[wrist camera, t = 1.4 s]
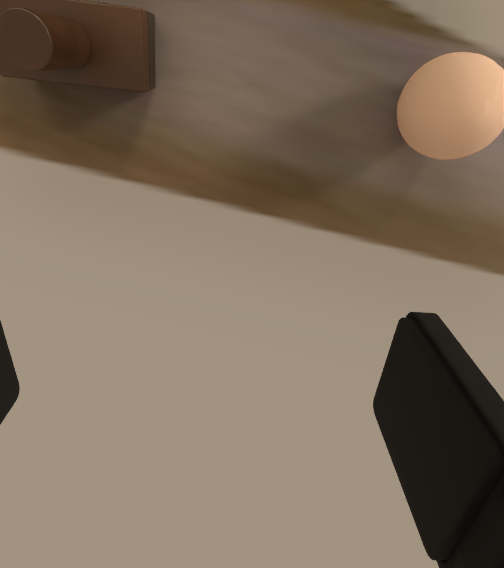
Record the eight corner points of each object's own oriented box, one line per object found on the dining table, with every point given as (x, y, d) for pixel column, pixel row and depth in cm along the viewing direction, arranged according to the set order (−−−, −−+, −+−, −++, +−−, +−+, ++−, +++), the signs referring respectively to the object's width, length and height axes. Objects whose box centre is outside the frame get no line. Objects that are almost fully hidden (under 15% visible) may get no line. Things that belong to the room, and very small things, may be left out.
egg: (365, 112, 27) (404, 131, 20) (430, 30, 24) (498, 21, 18) (422, 162, 28) (475, 195, 22) (488, 91, 26) (570, 103, 19)
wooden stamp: (17, -3, 23) (-89, -30, 16) (154, 14, 24) (113, -5, 16) (29, 73, 25) (-60, 81, 18) (155, 87, 26) (119, 100, 18)
